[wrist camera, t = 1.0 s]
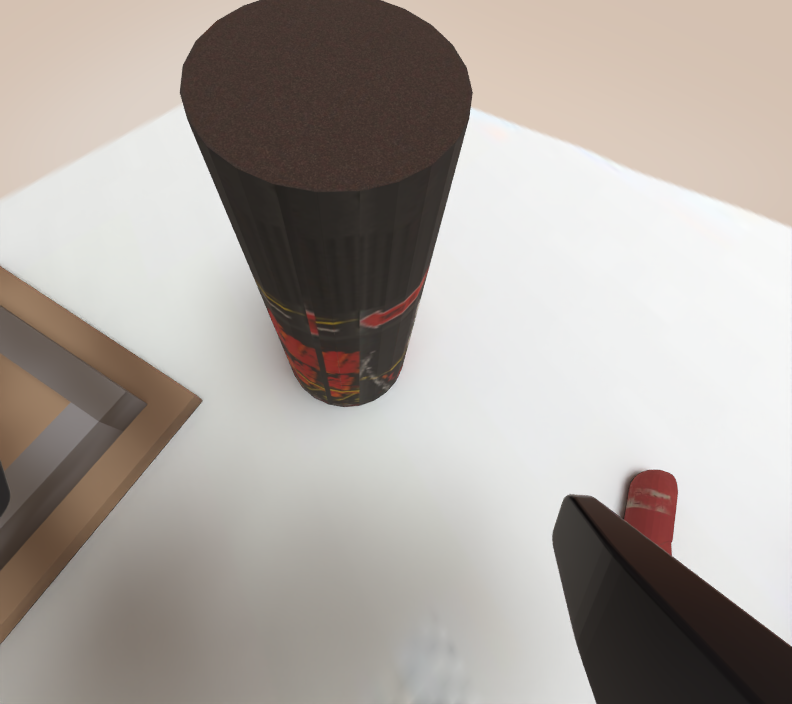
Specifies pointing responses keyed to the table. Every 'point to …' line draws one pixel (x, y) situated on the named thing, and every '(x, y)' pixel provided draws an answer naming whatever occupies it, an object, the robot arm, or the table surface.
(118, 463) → the socket board
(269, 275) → the deodorant
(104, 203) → the table surface
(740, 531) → the table surface
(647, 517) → the pliers
